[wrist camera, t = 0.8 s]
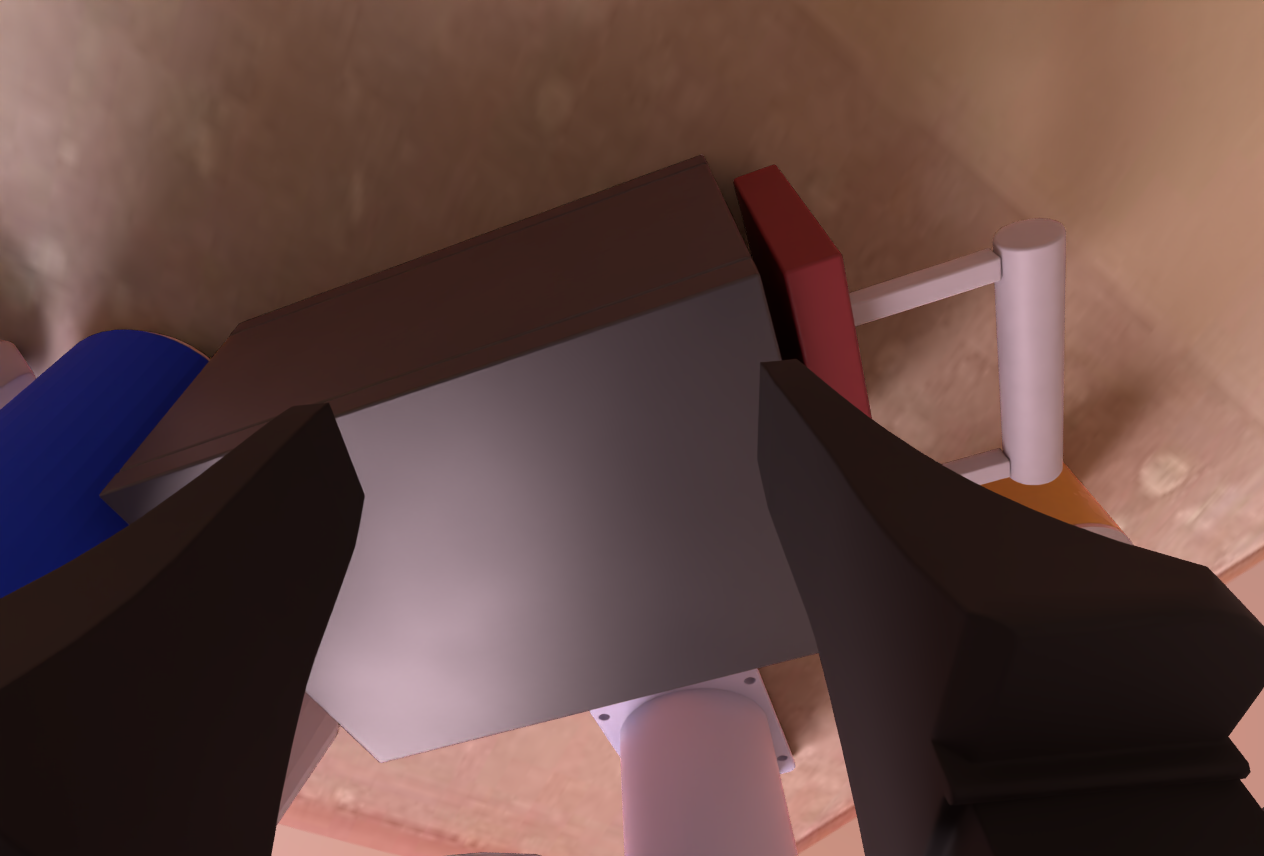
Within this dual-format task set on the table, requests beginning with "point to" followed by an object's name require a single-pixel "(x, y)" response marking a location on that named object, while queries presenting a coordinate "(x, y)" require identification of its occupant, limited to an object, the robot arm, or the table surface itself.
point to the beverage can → (80, 444)
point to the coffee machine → (526, 466)
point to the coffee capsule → (1062, 503)
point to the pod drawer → (827, 313)
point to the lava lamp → (307, 748)
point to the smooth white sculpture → (12, 372)
